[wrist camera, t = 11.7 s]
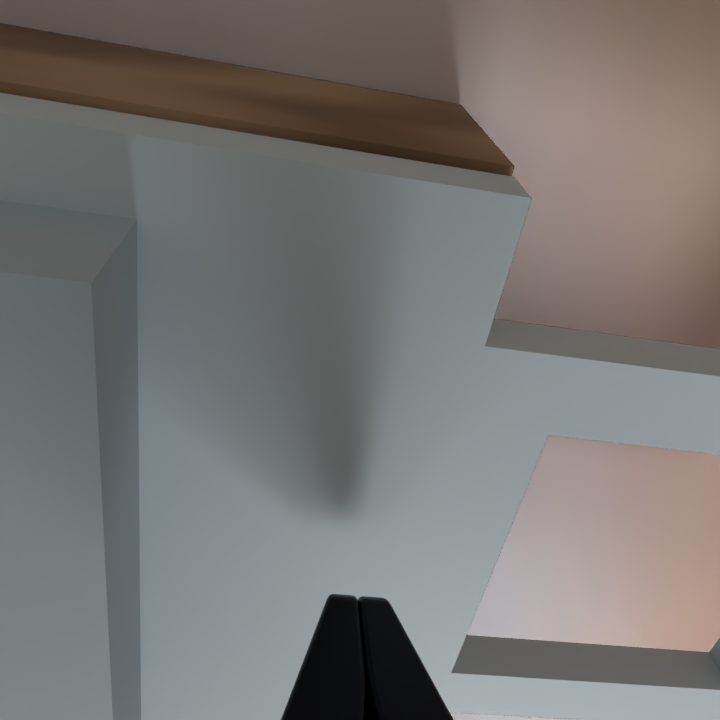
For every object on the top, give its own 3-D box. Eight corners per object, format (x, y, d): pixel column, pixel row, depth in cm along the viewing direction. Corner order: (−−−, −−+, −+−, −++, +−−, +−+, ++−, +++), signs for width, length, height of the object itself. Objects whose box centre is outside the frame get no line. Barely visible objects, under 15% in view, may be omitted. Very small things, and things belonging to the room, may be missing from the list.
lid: (1080, 269, 9) (1305, 365, 7) (697, 739, 15) (755, 863, 13) (-1207, -106, 6) (-2046, -137, 4) (-512, 676, 12) (-686, 825, 10)
